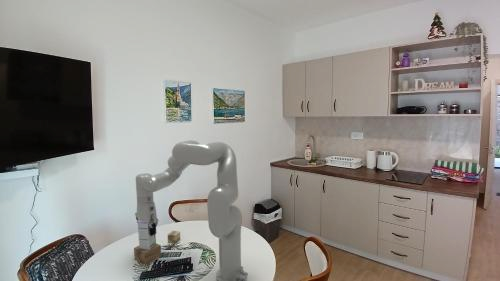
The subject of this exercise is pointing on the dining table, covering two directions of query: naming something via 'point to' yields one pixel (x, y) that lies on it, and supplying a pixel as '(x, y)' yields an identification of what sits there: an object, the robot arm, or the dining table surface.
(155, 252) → the brown cardboard box
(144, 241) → the syrup box
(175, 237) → the oak cube
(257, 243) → the dining table surface
